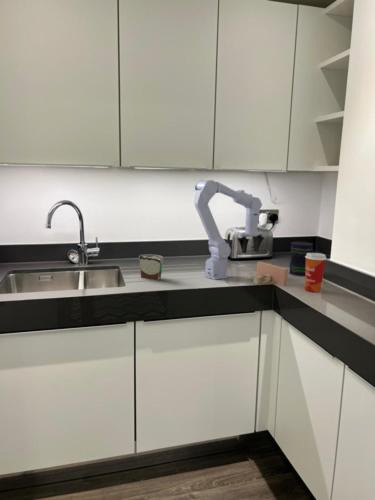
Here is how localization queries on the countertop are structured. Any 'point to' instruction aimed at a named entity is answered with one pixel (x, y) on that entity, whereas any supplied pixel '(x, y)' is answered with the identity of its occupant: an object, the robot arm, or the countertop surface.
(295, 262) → the storage jar
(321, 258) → the coffee cup
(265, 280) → the birch slotted plate
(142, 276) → the food container
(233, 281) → the countertop surface
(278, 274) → the terracotta slotted plate
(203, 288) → the countertop surface
